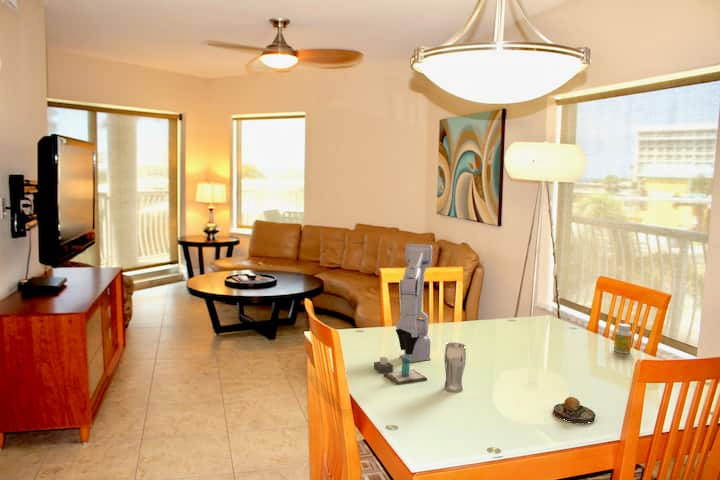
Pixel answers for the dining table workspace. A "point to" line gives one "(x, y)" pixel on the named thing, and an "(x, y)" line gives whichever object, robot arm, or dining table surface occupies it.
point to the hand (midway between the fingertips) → (406, 351)
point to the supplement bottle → (623, 339)
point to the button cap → (383, 361)
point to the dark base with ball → (574, 411)
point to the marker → (405, 366)
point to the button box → (383, 367)
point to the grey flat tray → (400, 379)
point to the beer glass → (454, 366)
